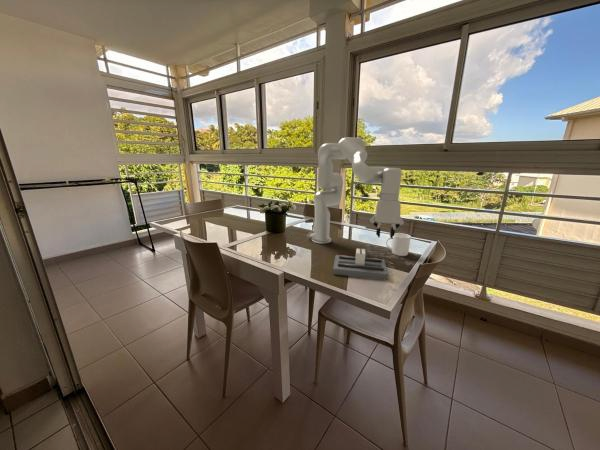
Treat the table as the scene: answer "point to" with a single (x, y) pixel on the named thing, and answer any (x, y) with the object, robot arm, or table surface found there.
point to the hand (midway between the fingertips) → (384, 236)
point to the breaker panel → (360, 267)
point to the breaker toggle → (360, 257)
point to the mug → (400, 244)
